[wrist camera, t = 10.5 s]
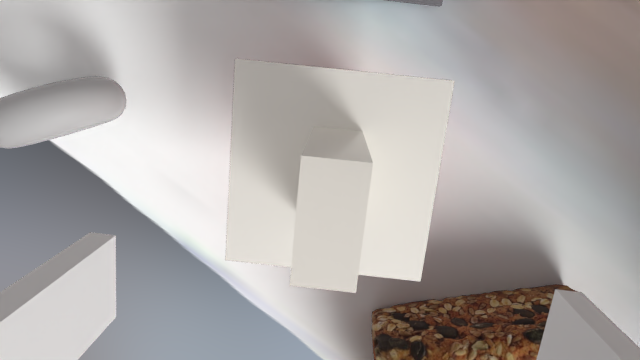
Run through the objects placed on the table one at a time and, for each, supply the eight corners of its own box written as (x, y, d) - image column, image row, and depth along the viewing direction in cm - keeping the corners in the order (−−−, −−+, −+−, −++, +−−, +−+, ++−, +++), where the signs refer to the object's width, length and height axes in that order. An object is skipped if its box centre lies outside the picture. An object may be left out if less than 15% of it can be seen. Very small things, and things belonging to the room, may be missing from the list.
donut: (138, 68, 38) (69, 71, 28) (153, 108, 39) (91, 124, 29) (32, 102, 39) (-70, 116, 29) (49, 140, 40) (-44, 166, 30)
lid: (449, 80, 28) (511, 89, 18) (417, 273, 31) (454, 372, 21) (239, 58, 28) (183, 56, 18) (229, 253, 31) (178, 341, 21)
